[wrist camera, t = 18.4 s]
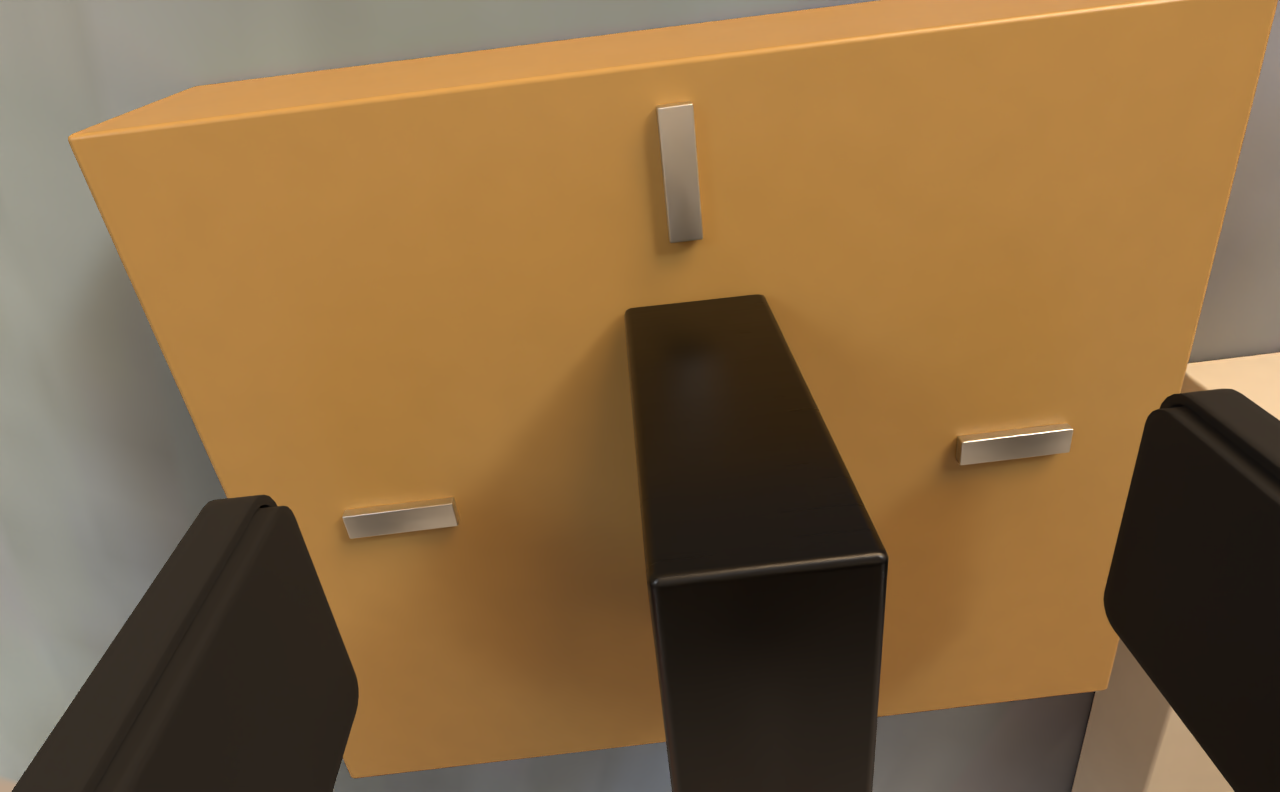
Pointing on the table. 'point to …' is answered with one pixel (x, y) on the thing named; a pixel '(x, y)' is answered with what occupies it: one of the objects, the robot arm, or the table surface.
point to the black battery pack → (752, 558)
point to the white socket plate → (1132, 705)
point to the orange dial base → (682, 272)
